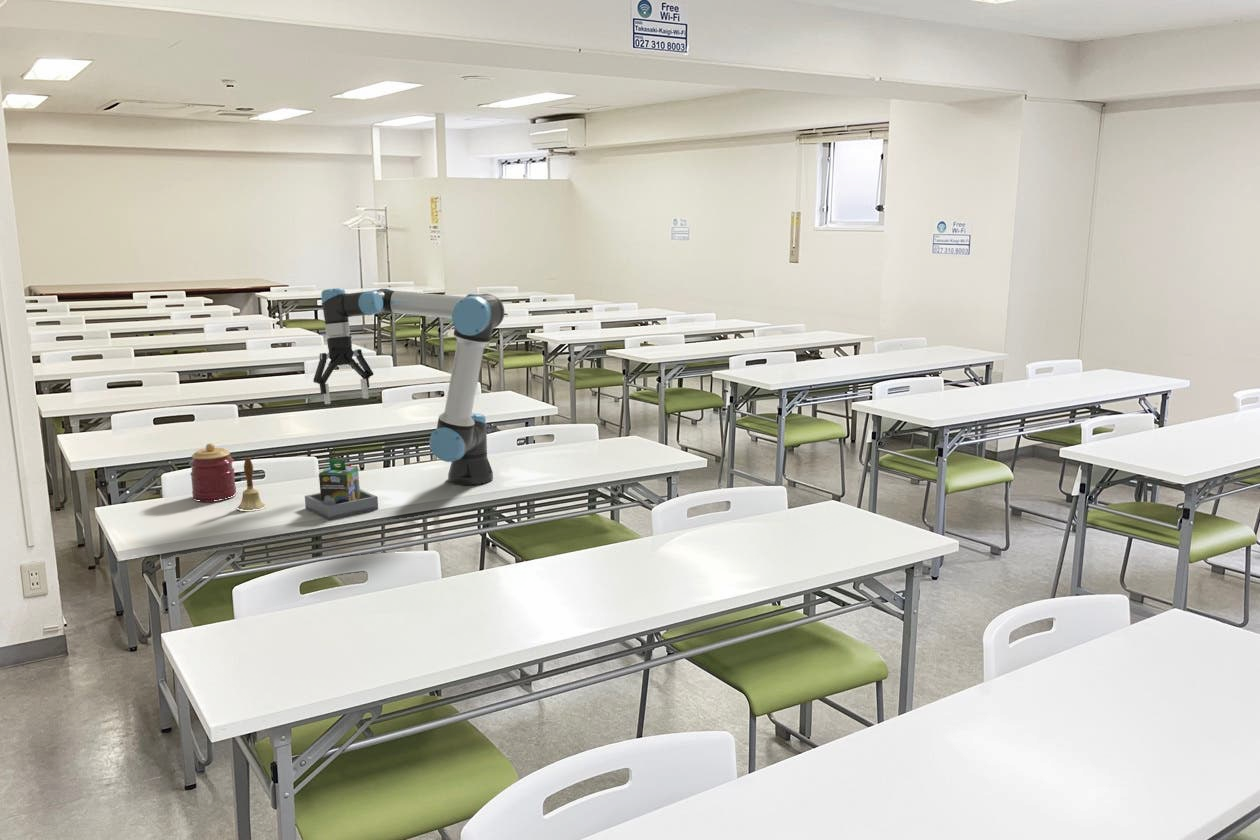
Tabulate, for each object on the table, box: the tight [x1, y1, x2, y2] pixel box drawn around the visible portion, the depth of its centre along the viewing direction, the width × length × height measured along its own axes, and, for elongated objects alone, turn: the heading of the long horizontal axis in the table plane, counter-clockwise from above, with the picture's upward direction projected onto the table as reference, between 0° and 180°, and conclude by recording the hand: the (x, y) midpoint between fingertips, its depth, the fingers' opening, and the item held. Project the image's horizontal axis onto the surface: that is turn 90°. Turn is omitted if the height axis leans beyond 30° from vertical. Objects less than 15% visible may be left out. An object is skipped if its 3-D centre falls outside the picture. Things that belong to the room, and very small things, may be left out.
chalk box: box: [318, 459, 361, 505], centre depth 296 cm, size 9×9×15 cm
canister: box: [188, 443, 237, 501], centre depth 309 cm, size 13×13×18 cm
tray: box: [304, 488, 379, 521], centre depth 297 cm, size 16×16×4 cm
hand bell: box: [237, 457, 266, 510], centre depth 297 cm, size 8×8×16 cm
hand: (347, 401), depth 318 cm, fingers open, 13 cm apart
